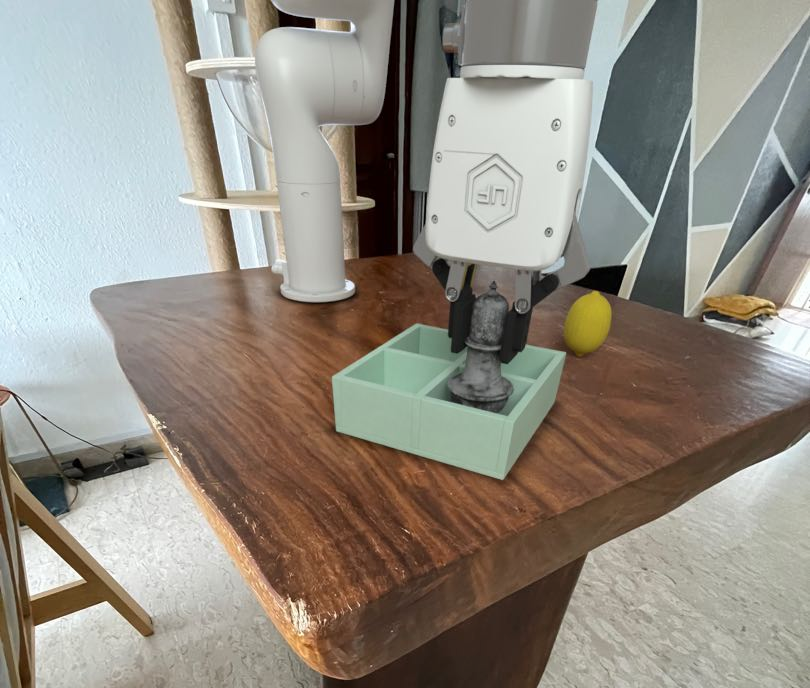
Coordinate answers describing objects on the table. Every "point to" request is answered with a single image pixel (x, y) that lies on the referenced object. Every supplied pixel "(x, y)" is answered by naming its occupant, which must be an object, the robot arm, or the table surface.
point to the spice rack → (443, 402)
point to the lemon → (587, 323)
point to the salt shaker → (484, 357)
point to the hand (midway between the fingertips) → (485, 351)
